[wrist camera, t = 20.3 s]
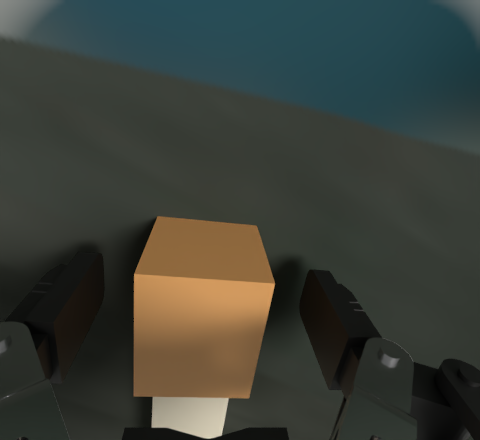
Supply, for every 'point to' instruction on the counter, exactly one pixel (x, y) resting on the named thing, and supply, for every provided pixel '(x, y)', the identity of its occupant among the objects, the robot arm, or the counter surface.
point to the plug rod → (199, 320)
